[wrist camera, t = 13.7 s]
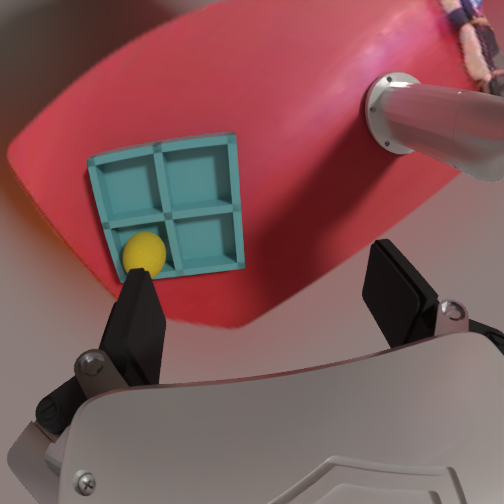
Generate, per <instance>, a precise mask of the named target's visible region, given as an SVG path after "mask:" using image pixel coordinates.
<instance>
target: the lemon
mask: <svg viewBox="0 0 504 504" xmlns="http://www.w3.org/2000/svg"><path fill="white" fill-rule="evenodd" d="M165 260H166V249H165V245H164V243H163V241H162V240H161V238H160V237H159V236H157V235H156V234H154V233H152V232H146V231H144V232H139V233H137V234H135V235H133V236H132V237H131V238H130V239H129V240H128V242H127V243H126V245H125V247H124V251H123V265H124V268H125V270H126V272H127V273H128V272H129V270H130V269H135V268H144V269H145V271H149V273H150V275H151V278H152V279H153V278H154V277H156V276H157V275H158V274H159V273H160V271H161V270H162V268H163V266H164V263H165Z"/></svg>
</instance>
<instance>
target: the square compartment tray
mask: <svg viewBox="0 0 504 504" xmlns="http://www.w3.org/2000/svg"><path fill="white" fill-rule="evenodd" d="M86 160H87V165H88V170H89V175H90V179H91V184H92V188H93V192H94V196H95V201H96V204H97V208H98V212H99V216H100V219H101V223H102V227H103V230H104V233H105V237H106V240H107V243H108V246H109V250H110V253H111V256H112V259H113V262H114V265H115V268H116V271H117V274H118V276H119V279H120V282H121V283H123V282H125V280H126V277H127V274H128V273H127V272H126V270H125V268H124V265H123V251H124V247H125V245H126V243H127V242H128V240H129V239H130V238H131V237H132V236H133V235H135V234H137V233H139V232H144V231H146V232H152V233H154V234H156V235H157V236H159V237H160V238H161V240H162V241H163V243H164V245H165V249H166V260H165V263H164V266H163V268H162V270H161V271H160V273H159V274H158V275H157V276H156V277H154V278H153V279H160V278H168V277H177V276H186V275H194V274H203V273H211V272H219V271H227V270H235V269H243V268H245V258H244V244H243V230H242V216H241V202H240V187H239V172H238V157H237V142H236V134H235V133H234V132H233V131H229V132H219V133H209V134H200V135H192V136H185V137H178V138H171V139H165V140H158V141H153V142H147V143H141V144H136V145H131V146H126V147H121V148H117V149H112V150H108V151H103V152H99V153H96V154H94V155H93V156H91V157H89V158H88V159H86Z"/></svg>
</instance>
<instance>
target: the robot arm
mask: <svg viewBox="0 0 504 504" xmlns="http://www.w3.org/2000/svg"><path fill="white" fill-rule="evenodd" d="M370 108H371V110H370ZM365 118H366V122H367V126H368V129H369V131H370V133H371V135H372V137H373V138H374V140H375V141H376V142H377V143H378V144H379V145H380V146H381V147H383V148H384V149H386V150H388V151H390V152H392V153H396V154H409V153H412V152H414V151H417V152H420V153H422V154H424V155H427V156H429V157H432V158H434V159H436V160H438V161H441V162H443V163H445V164H447V165H449V166H451V167H454V168H456V169H458V170H460V171H462V172H464V173H466V174H468V175H470V176H472V177H474V178H476V179H478V180H481V181H485V182H496V181H500V180H503V179H504V97H499V96H495V95H490V94H485V93H481V92H474V91H469V90H463V89H457V88H451V87H444V86H436V85H427V84H421V83H420V82H419V81H418V80H417V79H416V78H414V77H413V76H411V75H409V74H406V73H402V72H390V73H386V74H384V75H382V76H380V77H379V78H377V79H376V80H375V81H374V82H373V84H372V85H371V87H370V89H369V91H368V93H367V97H366V101H365ZM362 296H363V300H364V302H365V303H366V305H367V307H368V308H369V310H370V312H371V314H372V315H373V317H374V319H375V320H376V322H377V324H378V326H379V328H380V329H381V331H382V333H383V335H384V336H385V338H386V340H387V342H388V344H389V346H390V347H391V349H387V350H384V351H380V352H376V353H372V354H368V355H365V356H360V357H356V358H352V359H348V360H343V361H339V362H334V363H330V364H325V365H320V366H315V367H310V368H304V369H299V370H294V371H287V372H281V373H275V374H268V375H261V376H253V377H246V378H238V379H227V380H217V381H206V382H192V383H177V384H159V376H160V367H161V359H162V352H163V343H164V337H165V330H166V319H165V316H164V313H163V310H162V308H161V305H160V302H159V299H158V296H157V293H156V291H155V288H154V285H153V282H152V278H151V275H150V273H149V271H145V269H144V268H135V269H130V270H129V272H128V274H127V277H126V280H125V282H124V285H123V287H122V290H121V293H120V295H119V298H118V301H117V302H115V303H114V305H113V308H112V311H111V313H110V316H109V319H108V322H107V324H106V327H105V330H104V333H103V336H102V339H101V343H100V346H99V349H91V350H88V351H86V352H84V353H82V354H81V355H80V356H79V357H78V358H77V360H76V362H75V364H74V373H75V376H74V377H72V378H71V379H70V380H68V381H67V382H65V383H64V384H63V385H61V386H60V387H58V388H57V389H56V390H54V391H53V392H51V393H50V394H49V395H47V396H46V397H45V398H43V399H42V400H41V401H40V403H39V404H38V406H37V408H36V421H35V422H32V421H31V422H30V423H29V424H28V426H27V427H26V428H25V429H24V431H23V432H22V433H21V435H20V436H19V437H18V439H17V440H16V441H15V443H14V444H13V446H12V447H11V448H10V450H9V452H8V455H7V462H8V465H9V467H10V469H11V470H12V472H13V473H14V474H15V476H16V477H17V478H18V479H19V481H20V482H21V483H22V484H23V486H25V488H26V489H27V490H28V491H29V493H30V494H31V495H32V496H33V497H34V498H35V499H36V500H37V502H38V503H39V504H504V334H503V333H502V332H501V331H499V330H497V329H495V328H492V327H490V326H487V325H484V324H482V323H479V322H476V321H474V320H471V319H469V315H468V311H467V309H466V307H465V306H464V305H463V304H462V303H460V302H459V301H456V300H454V299H444V300H442V301H441V302H439V301H438V300H437V298H438V294H437V293H436V292H435V291H434V290H433V288H432V287H431V286H430V285H429V284H428V283H427V281H426V280H425V279H424V278H423V277H422V276H421V274H420V273H419V272H418V271H417V270H416V269H415V267H414V266H413V265H412V264H411V263H410V262H409V261H408V260H407V258H406V257H405V256H404V255H403V254H402V253H401V252H400V251H399V250H398V249H397V248H396V247H395V245H394V244H393V243H392V242H391V241H390V240H389V239H381V240H376V241H375V242H374V244H372V245H371V248H370V255H369V260H368V265H367V271H366V276H365V281H364V286H363V290H362Z"/></svg>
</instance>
